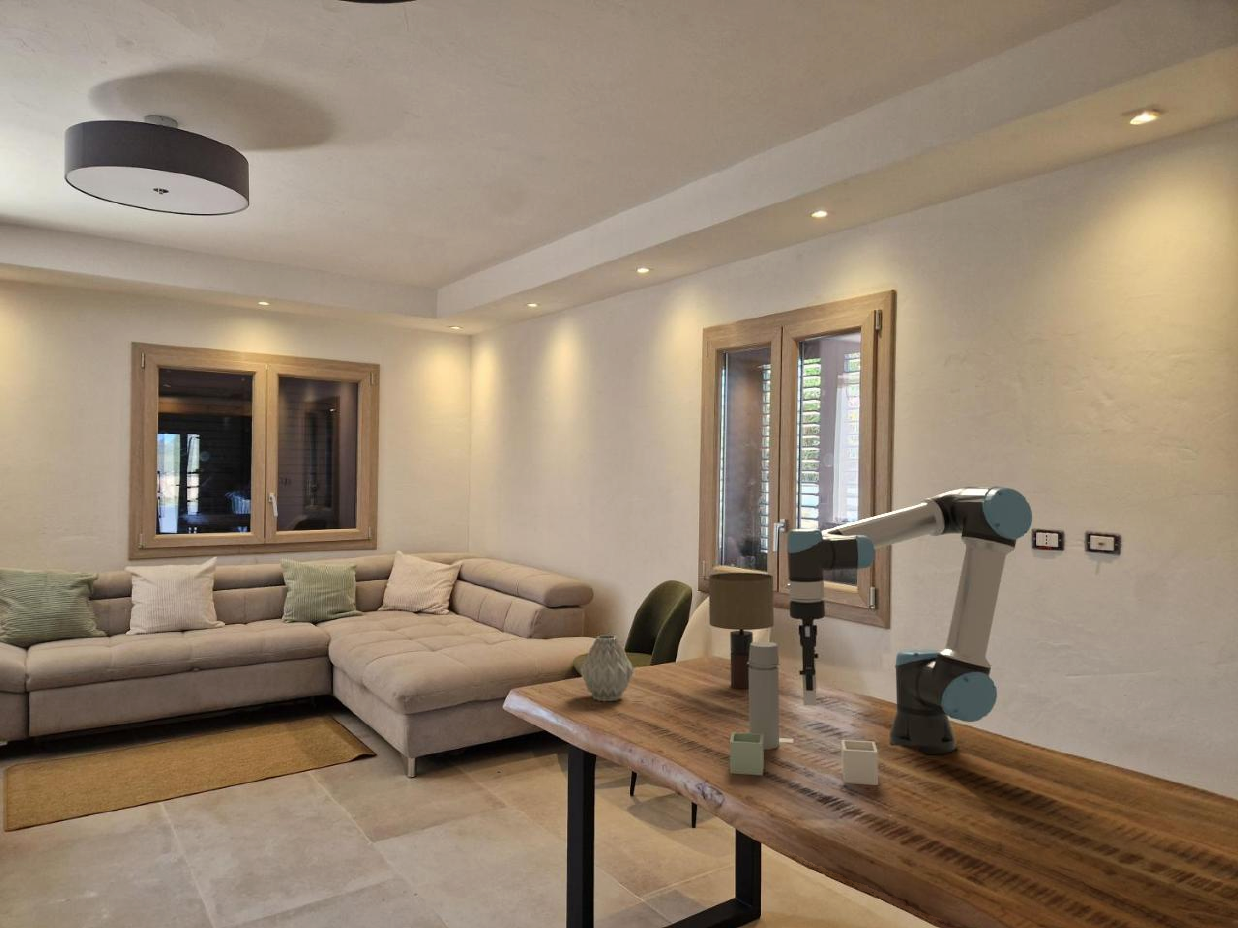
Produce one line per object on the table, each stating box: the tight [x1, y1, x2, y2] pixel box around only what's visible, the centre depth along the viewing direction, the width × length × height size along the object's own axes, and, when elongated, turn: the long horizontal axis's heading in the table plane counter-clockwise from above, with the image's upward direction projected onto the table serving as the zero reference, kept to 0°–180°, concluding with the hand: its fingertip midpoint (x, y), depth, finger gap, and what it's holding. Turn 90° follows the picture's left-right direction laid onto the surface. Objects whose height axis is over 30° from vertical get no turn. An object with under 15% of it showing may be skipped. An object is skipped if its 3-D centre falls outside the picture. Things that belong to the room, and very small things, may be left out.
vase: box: [579, 634, 635, 702], centre depth 243 cm, size 16×16×18 cm
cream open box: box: [840, 739, 879, 786], centre depth 173 cm, size 7×7×8 cm
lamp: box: [708, 572, 775, 690], centre depth 255 cm, size 20×20×35 cm
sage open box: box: [729, 731, 765, 776], centre depth 179 cm, size 7×7×8 cm
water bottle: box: [747, 641, 781, 751], centre depth 196 cm, size 9×8×25 cm
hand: (810, 696), depth 176 cm, fingers open, 13 cm apart
